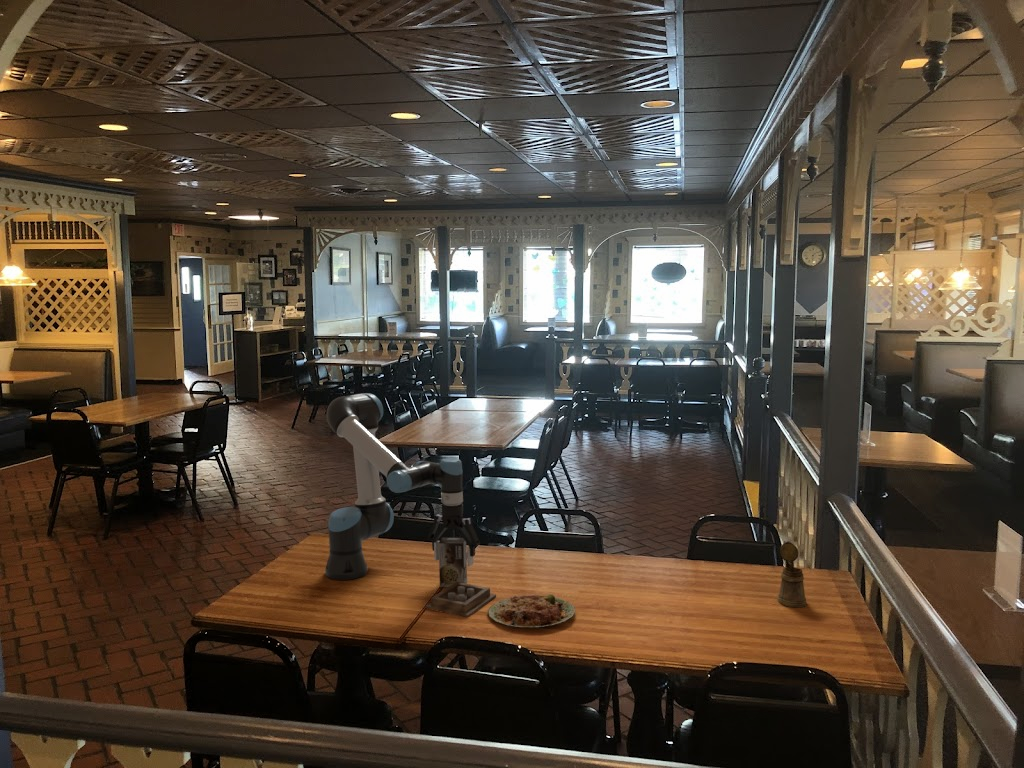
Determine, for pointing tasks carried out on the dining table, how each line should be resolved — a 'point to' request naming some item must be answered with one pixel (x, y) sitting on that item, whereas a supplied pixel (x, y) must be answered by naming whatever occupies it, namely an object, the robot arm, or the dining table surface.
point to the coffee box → (452, 561)
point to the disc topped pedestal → (791, 578)
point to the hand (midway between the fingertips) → (453, 562)
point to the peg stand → (461, 599)
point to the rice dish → (531, 611)
